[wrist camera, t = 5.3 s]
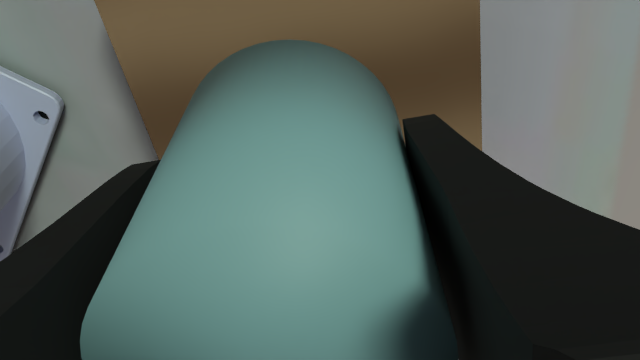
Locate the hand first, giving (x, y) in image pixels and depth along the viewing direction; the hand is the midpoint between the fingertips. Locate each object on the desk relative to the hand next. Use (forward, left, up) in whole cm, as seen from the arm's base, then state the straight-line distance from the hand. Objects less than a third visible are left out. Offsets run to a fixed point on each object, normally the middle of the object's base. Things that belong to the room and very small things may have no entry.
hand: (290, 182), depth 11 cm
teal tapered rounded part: (0, 0, -1) cm, 1 cm away
